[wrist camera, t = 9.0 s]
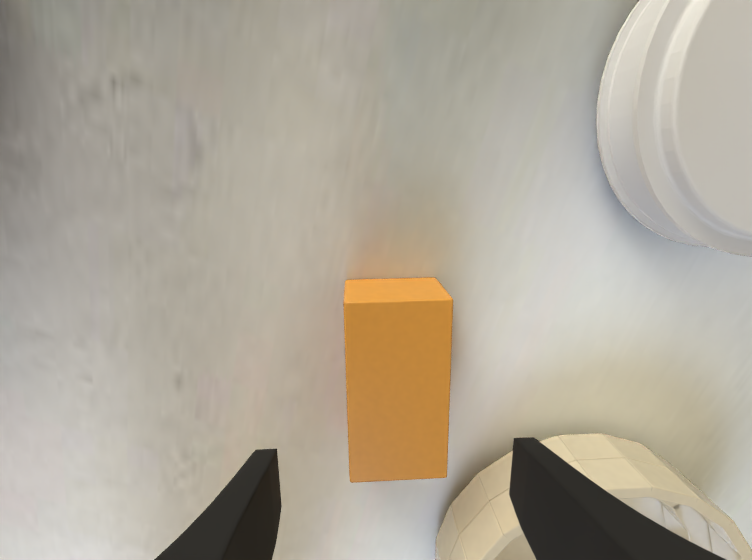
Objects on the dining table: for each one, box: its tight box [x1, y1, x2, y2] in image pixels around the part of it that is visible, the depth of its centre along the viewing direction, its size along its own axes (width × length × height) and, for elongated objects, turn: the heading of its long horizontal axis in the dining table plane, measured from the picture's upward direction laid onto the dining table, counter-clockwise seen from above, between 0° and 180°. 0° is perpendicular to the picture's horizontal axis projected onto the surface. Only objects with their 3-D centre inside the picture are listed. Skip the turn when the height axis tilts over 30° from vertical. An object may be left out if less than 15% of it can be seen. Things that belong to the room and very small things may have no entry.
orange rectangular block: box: [344, 278, 453, 483], centre depth 19 cm, size 8×4×4 cm, turn 1°
